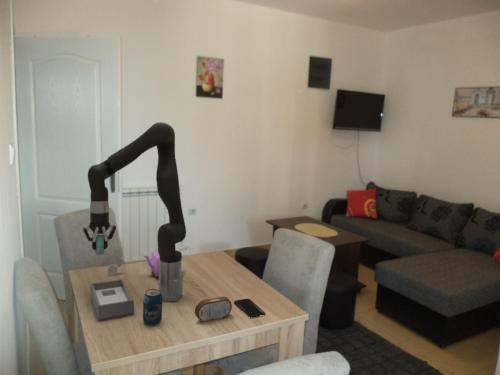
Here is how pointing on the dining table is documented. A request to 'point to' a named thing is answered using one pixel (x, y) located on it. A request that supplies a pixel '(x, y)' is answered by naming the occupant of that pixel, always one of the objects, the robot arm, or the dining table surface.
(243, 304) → the phone
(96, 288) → the bin
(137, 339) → the dining table surface
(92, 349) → the dining table surface
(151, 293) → the soda can
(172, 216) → the robot arm
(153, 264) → the teapot
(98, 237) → the peg
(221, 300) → the bluetooth speaker
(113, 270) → the lighter
